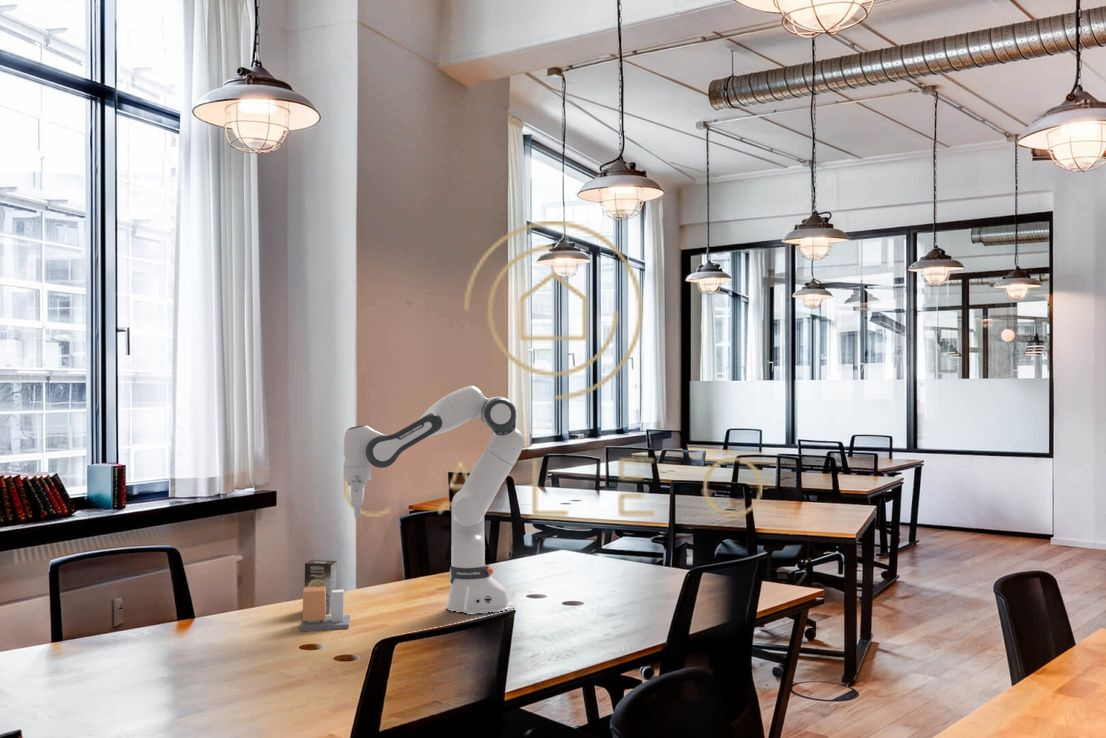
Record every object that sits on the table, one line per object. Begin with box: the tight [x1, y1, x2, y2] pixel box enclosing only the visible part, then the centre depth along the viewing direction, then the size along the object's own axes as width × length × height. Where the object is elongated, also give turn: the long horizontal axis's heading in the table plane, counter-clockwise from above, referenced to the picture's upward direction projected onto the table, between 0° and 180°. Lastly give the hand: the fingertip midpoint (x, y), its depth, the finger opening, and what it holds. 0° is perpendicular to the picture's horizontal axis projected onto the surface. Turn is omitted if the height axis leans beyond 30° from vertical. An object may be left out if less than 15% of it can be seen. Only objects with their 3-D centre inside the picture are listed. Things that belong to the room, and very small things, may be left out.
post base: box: [300, 588, 351, 632], centre depth 276 cm, size 14×12×10 cm
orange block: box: [302, 586, 327, 622], centre depth 276 cm, size 6×6×9 cm
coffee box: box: [304, 559, 338, 614], centre depth 294 cm, size 9×6×16 cm
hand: (357, 517), depth 293 cm, fingers closed
